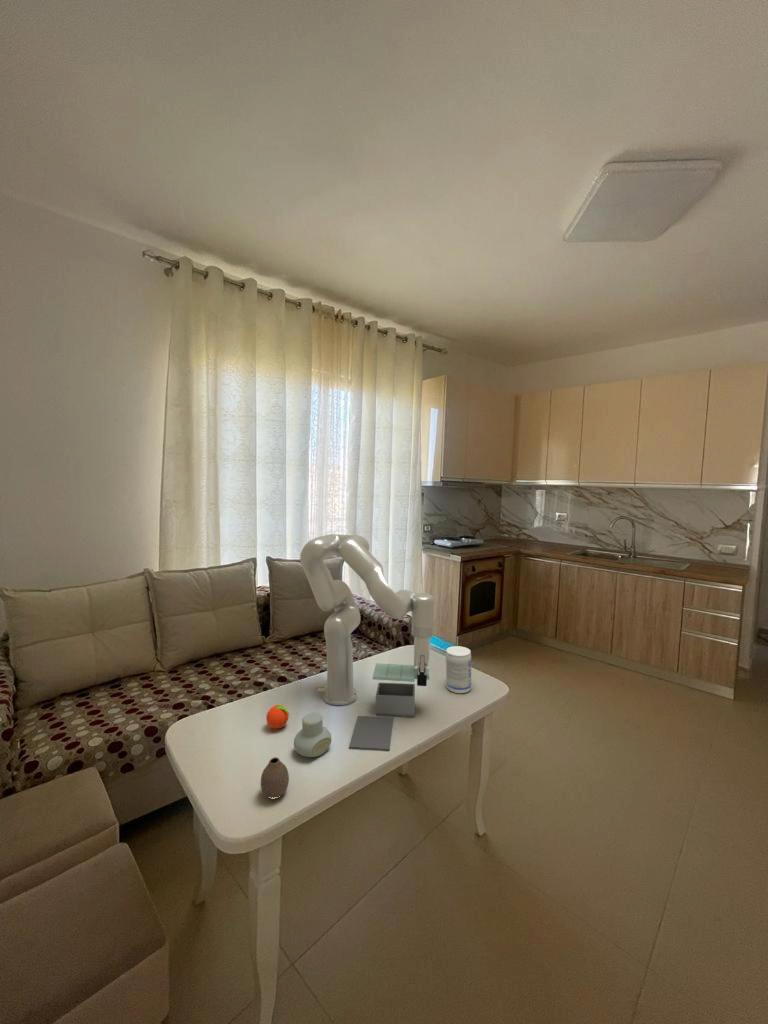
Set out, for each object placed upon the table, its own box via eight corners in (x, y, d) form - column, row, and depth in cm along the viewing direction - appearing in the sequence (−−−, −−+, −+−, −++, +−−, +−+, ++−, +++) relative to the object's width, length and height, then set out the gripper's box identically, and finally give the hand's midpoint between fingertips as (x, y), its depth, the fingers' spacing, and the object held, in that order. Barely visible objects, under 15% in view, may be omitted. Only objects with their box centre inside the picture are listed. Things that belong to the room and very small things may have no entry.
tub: (375, 715, 134) (375, 695, 134) (378, 701, 143) (378, 682, 142) (414, 717, 133) (414, 697, 132) (414, 702, 142) (414, 683, 141)
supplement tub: (474, 693, 148) (475, 655, 147) (450, 695, 147) (450, 656, 146) (466, 680, 157) (466, 644, 156) (442, 682, 156) (442, 646, 155)
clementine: (295, 722, 130) (295, 702, 130) (284, 735, 124) (284, 713, 123) (273, 719, 132) (273, 698, 132) (262, 731, 126) (261, 710, 125)
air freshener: (305, 766, 110) (304, 731, 109) (289, 752, 116) (288, 719, 115) (336, 747, 118) (335, 715, 117) (319, 735, 124) (318, 704, 123)
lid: (372, 681, 133) (372, 675, 133) (376, 667, 143) (376, 662, 143) (429, 684, 131) (429, 678, 131) (428, 670, 141) (429, 665, 141)
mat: (348, 748, 117) (348, 746, 117) (357, 717, 133) (357, 715, 133) (389, 750, 116) (389, 748, 116) (393, 719, 132) (393, 717, 132)
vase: (255, 799, 98) (254, 766, 98) (272, 780, 105) (271, 748, 104) (278, 807, 96) (277, 773, 95) (294, 787, 102) (293, 754, 102)
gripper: (412, 621, 144) (411, 670, 145) (411, 639, 127) (410, 694, 128) (433, 622, 143) (432, 671, 144) (434, 640, 126) (433, 695, 128)
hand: (421, 681), depth 136 cm, fingers closed on lid, 4 cm apart
